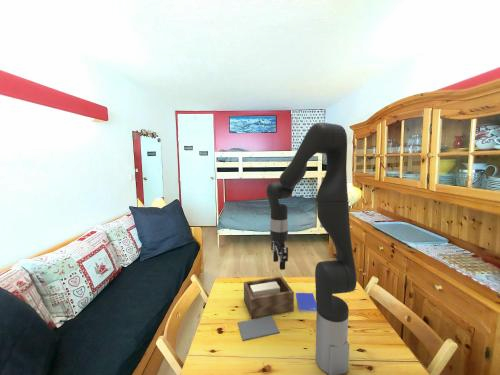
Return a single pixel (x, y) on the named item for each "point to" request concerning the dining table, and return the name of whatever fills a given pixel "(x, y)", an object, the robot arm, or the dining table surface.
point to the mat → (257, 328)
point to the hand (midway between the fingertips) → (279, 265)
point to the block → (264, 289)
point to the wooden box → (269, 299)
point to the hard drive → (306, 302)
